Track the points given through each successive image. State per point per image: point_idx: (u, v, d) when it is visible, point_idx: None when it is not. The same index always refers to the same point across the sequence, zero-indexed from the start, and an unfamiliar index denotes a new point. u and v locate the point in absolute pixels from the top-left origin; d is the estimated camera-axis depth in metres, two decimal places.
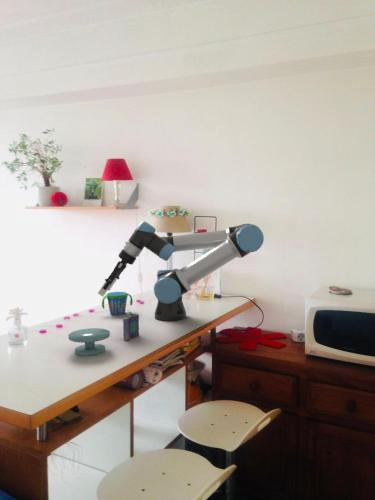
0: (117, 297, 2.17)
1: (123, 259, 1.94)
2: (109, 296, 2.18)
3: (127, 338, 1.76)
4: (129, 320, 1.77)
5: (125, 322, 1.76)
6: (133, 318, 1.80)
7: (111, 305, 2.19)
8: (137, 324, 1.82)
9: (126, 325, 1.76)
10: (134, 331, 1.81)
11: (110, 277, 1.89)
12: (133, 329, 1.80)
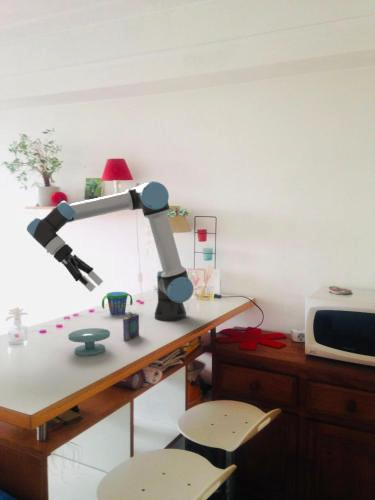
0: (117, 297, 2.17)
1: (61, 257, 1.77)
2: (109, 296, 2.18)
3: (127, 338, 1.76)
4: (129, 320, 1.77)
5: (125, 322, 1.76)
6: (133, 318, 1.80)
7: (111, 305, 2.19)
8: (137, 324, 1.82)
9: (126, 325, 1.76)
10: (134, 331, 1.81)
11: (73, 274, 1.71)
12: (133, 329, 1.80)
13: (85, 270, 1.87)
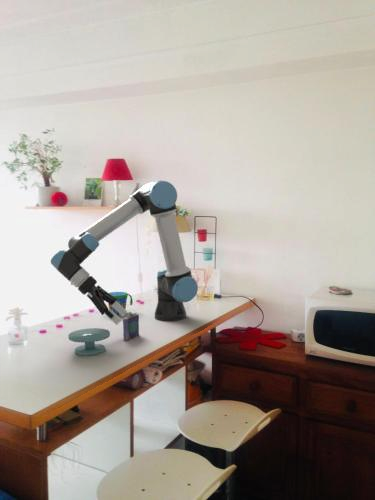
0: (117, 297, 2.17)
1: (86, 290, 1.75)
2: None
3: (127, 338, 1.76)
4: (129, 320, 1.77)
5: (125, 322, 1.76)
6: (133, 318, 1.80)
7: (111, 305, 2.19)
8: (137, 324, 1.82)
9: (126, 325, 1.76)
10: (134, 331, 1.81)
11: (99, 308, 1.70)
12: (133, 329, 1.80)
13: (109, 301, 1.85)
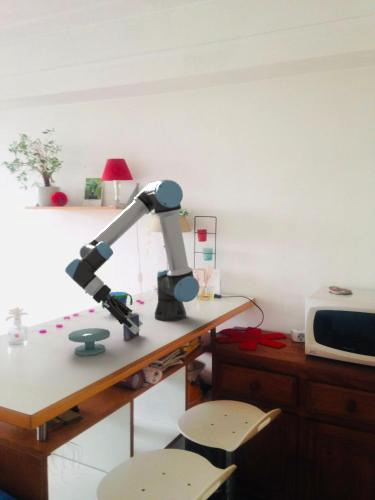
0: (117, 297, 2.17)
1: (101, 298, 1.75)
2: None
3: (127, 338, 1.76)
4: None
5: None
6: (133, 318, 1.80)
7: None
8: (137, 324, 1.82)
9: None
10: None
11: (118, 318, 1.72)
12: None
13: (124, 312, 1.84)
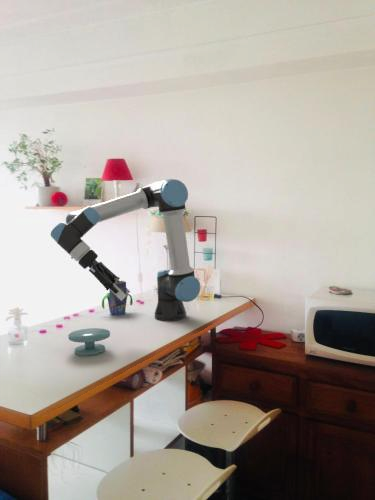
0: None
1: (87, 263, 1.70)
2: (109, 296, 2.18)
3: (113, 305, 1.71)
4: None
5: None
6: (120, 285, 1.75)
7: None
8: (124, 291, 1.77)
9: None
10: None
11: (103, 283, 1.67)
12: None
13: (111, 279, 1.78)
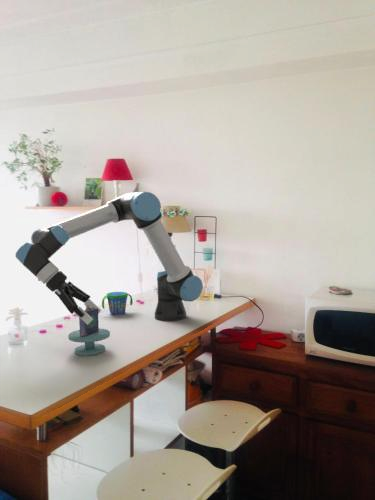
0: (117, 297, 2.17)
1: (54, 286, 1.59)
2: (109, 296, 2.18)
3: (83, 334, 1.60)
4: None
5: None
6: (91, 312, 1.63)
7: (111, 305, 2.19)
8: (96, 319, 1.66)
9: (82, 320, 1.60)
10: (92, 326, 1.64)
11: (67, 306, 1.54)
12: (90, 324, 1.64)
13: (81, 298, 1.69)
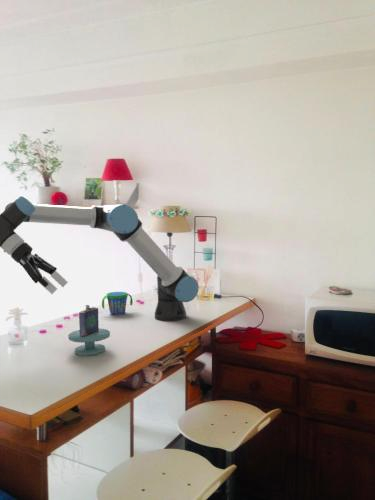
0: (117, 297, 2.17)
1: (19, 257, 1.61)
2: (109, 296, 2.18)
3: (83, 334, 1.60)
4: (86, 314, 1.61)
5: (81, 316, 1.59)
6: (91, 312, 1.63)
7: (111, 305, 2.19)
8: (96, 319, 1.66)
9: (82, 320, 1.60)
10: (92, 326, 1.64)
11: (31, 275, 1.56)
12: (90, 324, 1.64)
13: (47, 270, 1.71)
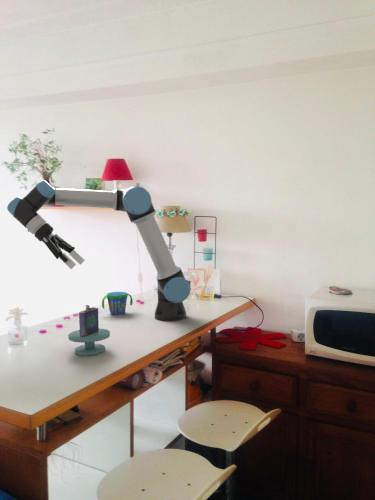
0: (117, 297, 2.17)
1: (42, 235, 1.79)
2: (109, 296, 2.18)
3: (83, 334, 1.60)
4: (86, 314, 1.61)
5: (81, 316, 1.59)
6: (91, 312, 1.63)
7: (111, 305, 2.19)
8: (96, 319, 1.66)
9: (82, 320, 1.60)
10: (92, 326, 1.64)
11: (53, 251, 1.73)
12: (90, 324, 1.64)
13: (66, 249, 1.89)
